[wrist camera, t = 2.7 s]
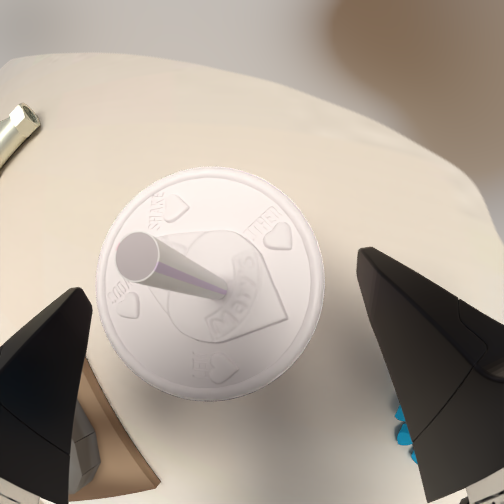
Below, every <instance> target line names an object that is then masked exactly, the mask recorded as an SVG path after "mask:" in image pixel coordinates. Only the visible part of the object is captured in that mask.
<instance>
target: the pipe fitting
mask: <svg viewBox="0 0 504 504" xmlns="http://www.w3.org/2000/svg"><path fill="white" fill-rule="evenodd" d="M39 126H40V122H39V119H38V117H37V116H36V114H35V113H34V112H33V110H32V109H31V108H30V107H29V106H28V105H26V104H25V103H21V104H19V105H18V106H17V107H16V108H15V109H14V110H13V111H12V112H11V113H10V117H9V118H7V119H5V120H2V121H0V169H1V168H2V166H3V165H4V163H5V162H6V161H7V160H8V159H9V157H10V156H11V155H12V154H13V153H14V152H15V150H16V149H17V148H18V147H19V146H20V145H21V144H22V143H23V141H24V140H25V139H26V138H27V137H29V136H30V135H31V134H32V133H33V132H34V131H35V130H36V129H37V128H38V127H39Z"/></svg>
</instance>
